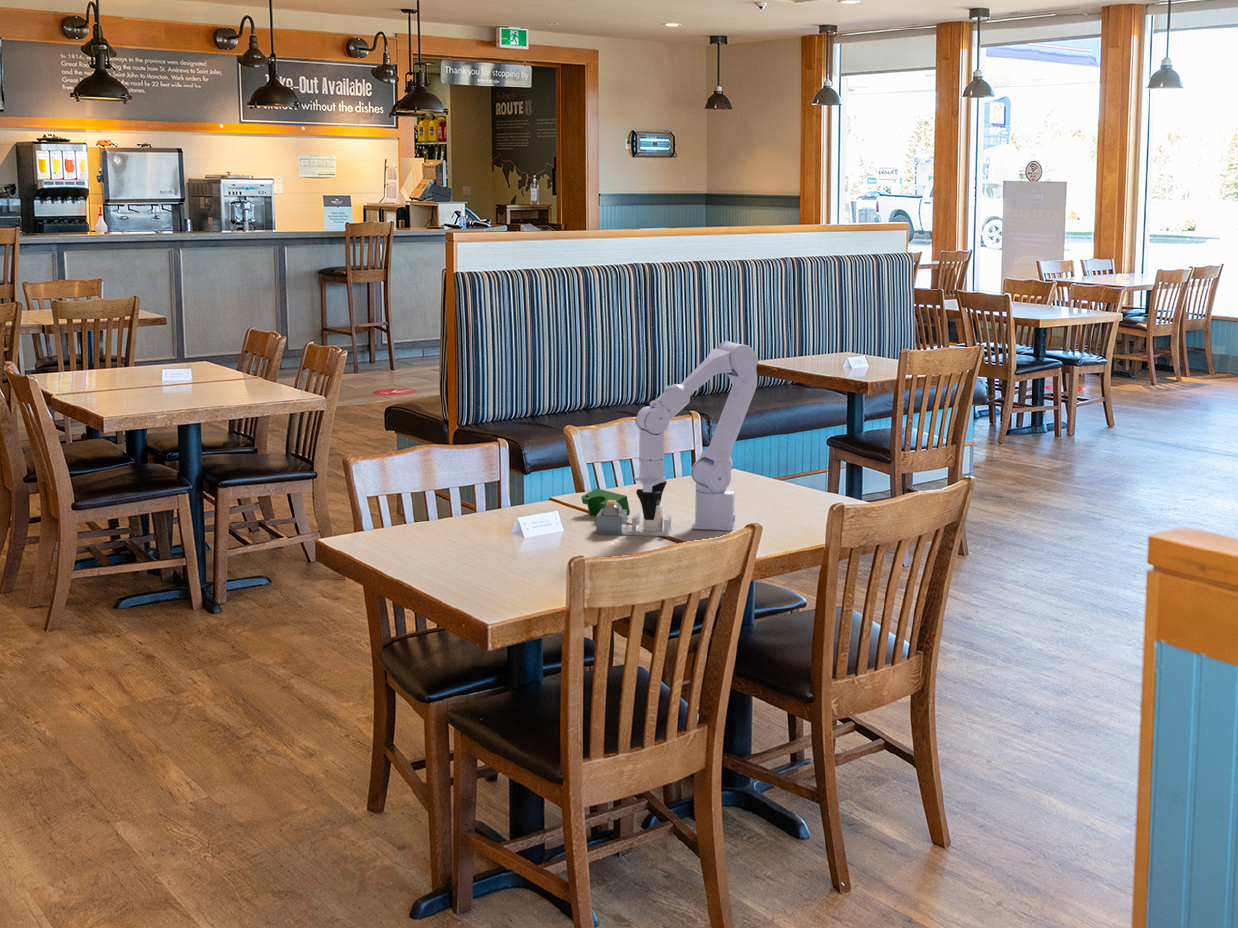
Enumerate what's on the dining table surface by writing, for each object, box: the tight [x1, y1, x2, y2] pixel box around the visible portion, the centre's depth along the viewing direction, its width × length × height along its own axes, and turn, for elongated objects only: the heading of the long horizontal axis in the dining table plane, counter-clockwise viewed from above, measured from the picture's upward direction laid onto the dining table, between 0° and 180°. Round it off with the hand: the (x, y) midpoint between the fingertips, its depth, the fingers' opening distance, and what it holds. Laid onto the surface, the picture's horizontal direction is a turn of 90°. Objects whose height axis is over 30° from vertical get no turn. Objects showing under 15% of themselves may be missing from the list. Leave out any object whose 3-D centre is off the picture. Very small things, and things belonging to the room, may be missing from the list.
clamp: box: [580, 488, 631, 517], centre depth 302 cm, size 12×6×9 cm, turn 35°
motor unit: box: [595, 500, 672, 537], centre depth 287 cm, size 17×7×7 cm, turn 80°
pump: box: [642, 500, 664, 532], centre depth 287 cm, size 4×4×7 cm
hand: (651, 515), depth 287 cm, fingers open, 7 cm apart
